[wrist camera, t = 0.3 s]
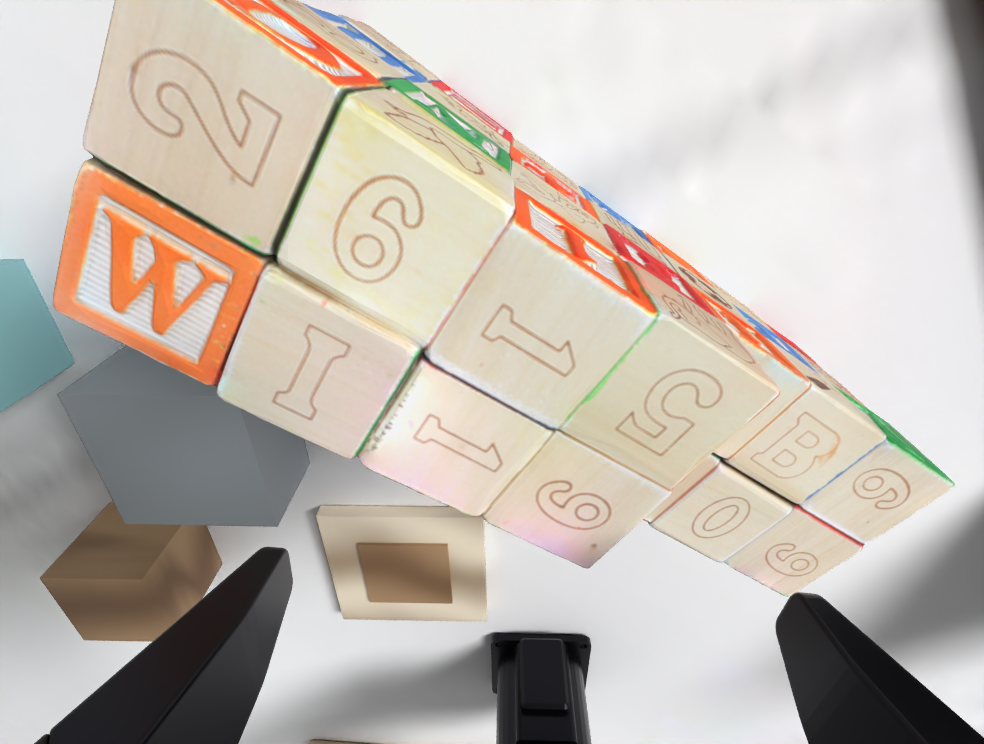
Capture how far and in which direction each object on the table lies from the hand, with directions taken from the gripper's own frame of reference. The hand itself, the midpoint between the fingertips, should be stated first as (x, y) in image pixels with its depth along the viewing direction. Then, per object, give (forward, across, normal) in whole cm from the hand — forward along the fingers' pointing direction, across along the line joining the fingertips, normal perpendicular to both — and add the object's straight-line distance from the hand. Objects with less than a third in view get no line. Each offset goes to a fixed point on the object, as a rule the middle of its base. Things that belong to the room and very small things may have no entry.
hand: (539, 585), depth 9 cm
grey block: (+14, +14, +7) cm, 21 cm away
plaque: (+14, +5, +17) cm, 23 cm away
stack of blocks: (+15, -2, -1) cm, 15 cm away
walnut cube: (+14, +19, +17) cm, 29 cm away
